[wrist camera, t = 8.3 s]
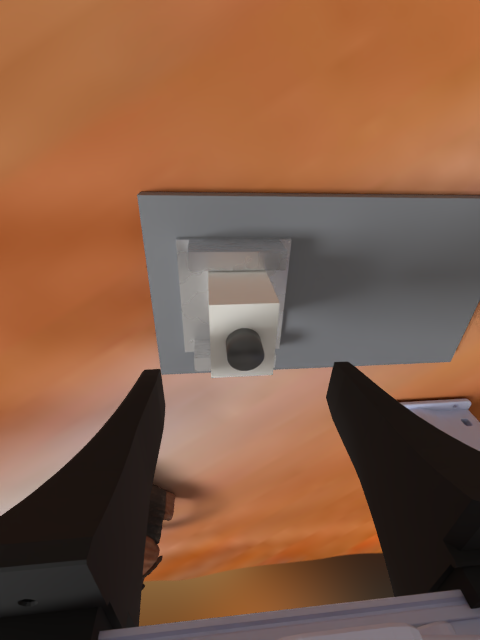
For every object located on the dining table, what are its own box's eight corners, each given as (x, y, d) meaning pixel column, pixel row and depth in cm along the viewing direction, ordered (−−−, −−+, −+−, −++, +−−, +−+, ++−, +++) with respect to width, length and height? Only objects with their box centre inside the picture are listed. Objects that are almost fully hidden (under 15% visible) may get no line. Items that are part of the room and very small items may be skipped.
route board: (513, 195, 19) (528, 198, 18) (442, 353, 25) (450, 361, 24) (140, 191, 17) (137, 195, 16) (163, 365, 23) (161, 374, 22)
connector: (260, 257, 18) (285, 314, 13) (256, 317, 20) (276, 389, 15) (207, 258, 18) (209, 317, 12) (209, 318, 20) (211, 392, 14)
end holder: (290, 237, 18) (300, 251, 16) (278, 345, 22) (285, 367, 20) (176, 237, 17) (172, 252, 15) (185, 348, 21) (183, 371, 19)
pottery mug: (197, 501, 34) (168, 600, 29) (130, 483, 38) (96, 567, 33) (130, 472, 25) (75, 605, 21) (54, 453, 29) (-7, 560, 25)
